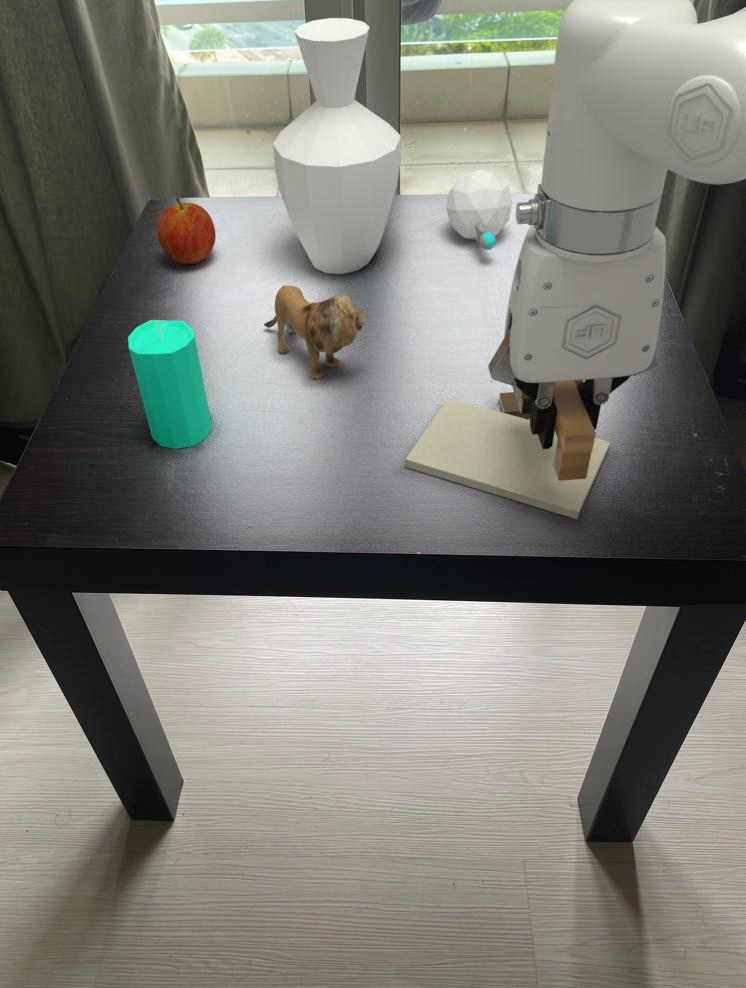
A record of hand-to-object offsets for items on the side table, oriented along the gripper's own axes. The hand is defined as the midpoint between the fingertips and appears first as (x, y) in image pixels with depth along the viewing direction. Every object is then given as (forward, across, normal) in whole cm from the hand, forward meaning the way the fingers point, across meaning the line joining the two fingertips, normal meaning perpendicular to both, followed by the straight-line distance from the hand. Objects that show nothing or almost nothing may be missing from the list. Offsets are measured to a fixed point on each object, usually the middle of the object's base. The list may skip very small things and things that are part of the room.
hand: (561, 435), depth 68 cm
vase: (+6, -16, +45) cm, 48 cm away
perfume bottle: (+7, +1, +47) cm, 47 cm away
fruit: (+6, -35, +46) cm, 58 cm away
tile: (+7, -3, +6) cm, 10 cm away
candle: (+7, -33, +13) cm, 36 cm away
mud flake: (+7, 0, +13) cm, 15 cm away
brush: (+1, 0, +3) cm, 3 cm away
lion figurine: (+7, -20, +24) cm, 32 cm away
